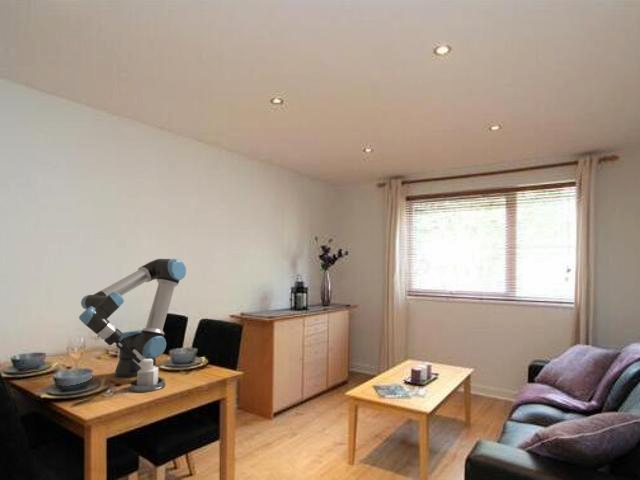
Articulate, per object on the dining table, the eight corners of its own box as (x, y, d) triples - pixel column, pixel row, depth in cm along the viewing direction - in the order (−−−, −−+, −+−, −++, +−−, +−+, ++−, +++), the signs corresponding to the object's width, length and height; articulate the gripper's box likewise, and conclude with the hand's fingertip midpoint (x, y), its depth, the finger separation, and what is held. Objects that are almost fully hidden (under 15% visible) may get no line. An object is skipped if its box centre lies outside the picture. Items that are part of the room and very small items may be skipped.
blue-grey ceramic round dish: (122, 390, 184) (122, 385, 184) (143, 380, 200) (143, 375, 200) (152, 393, 181) (153, 387, 182) (171, 383, 197) (172, 377, 197)
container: (141, 382, 194) (143, 356, 195) (158, 382, 195) (159, 356, 196) (136, 387, 187) (137, 360, 187) (153, 387, 188) (154, 360, 188)
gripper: (102, 335, 192) (134, 363, 199) (103, 345, 171) (139, 375, 177) (115, 324, 195) (146, 351, 202) (118, 332, 174) (152, 362, 180)
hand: (143, 363), depth 190 cm, fingers open, 13 cm apart
